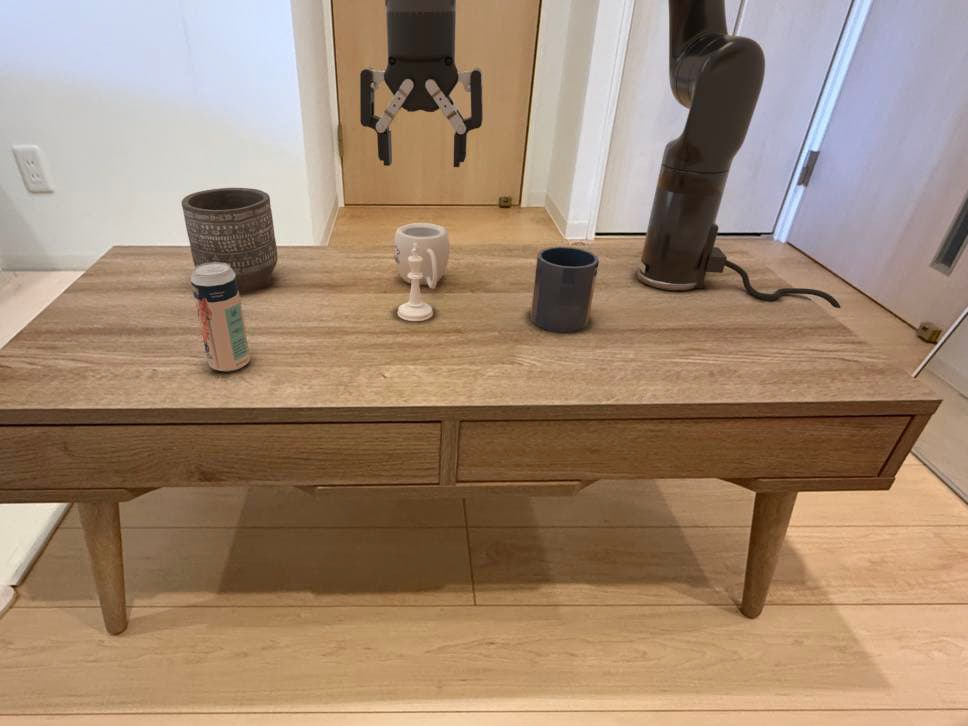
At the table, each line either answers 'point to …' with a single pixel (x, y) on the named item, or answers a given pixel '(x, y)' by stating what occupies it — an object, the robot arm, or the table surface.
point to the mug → (422, 251)
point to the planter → (233, 233)
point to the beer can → (220, 316)
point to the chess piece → (415, 292)
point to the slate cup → (563, 288)
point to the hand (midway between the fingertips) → (422, 165)
